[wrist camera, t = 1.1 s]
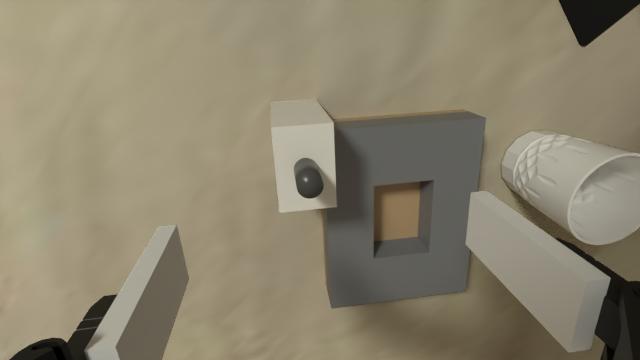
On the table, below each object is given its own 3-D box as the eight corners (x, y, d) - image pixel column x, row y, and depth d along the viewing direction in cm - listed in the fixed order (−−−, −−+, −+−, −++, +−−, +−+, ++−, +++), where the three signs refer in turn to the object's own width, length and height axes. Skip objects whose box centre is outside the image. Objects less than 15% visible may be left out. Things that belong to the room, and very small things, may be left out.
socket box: (317, 121, 33) (322, 131, 30) (462, 109, 35) (485, 117, 31) (325, 283, 40) (331, 308, 36) (448, 268, 41) (465, 291, 38)
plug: (270, 102, 32) (271, 139, 20) (315, 98, 33) (342, 133, 21) (277, 166, 34) (280, 234, 22) (319, 162, 35) (344, 227, 23)
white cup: (558, 110, 36) (658, 134, 27) (573, 175, 39) (667, 218, 30) (486, 146, 37) (559, 183, 27) (505, 208, 39) (577, 260, 30)
